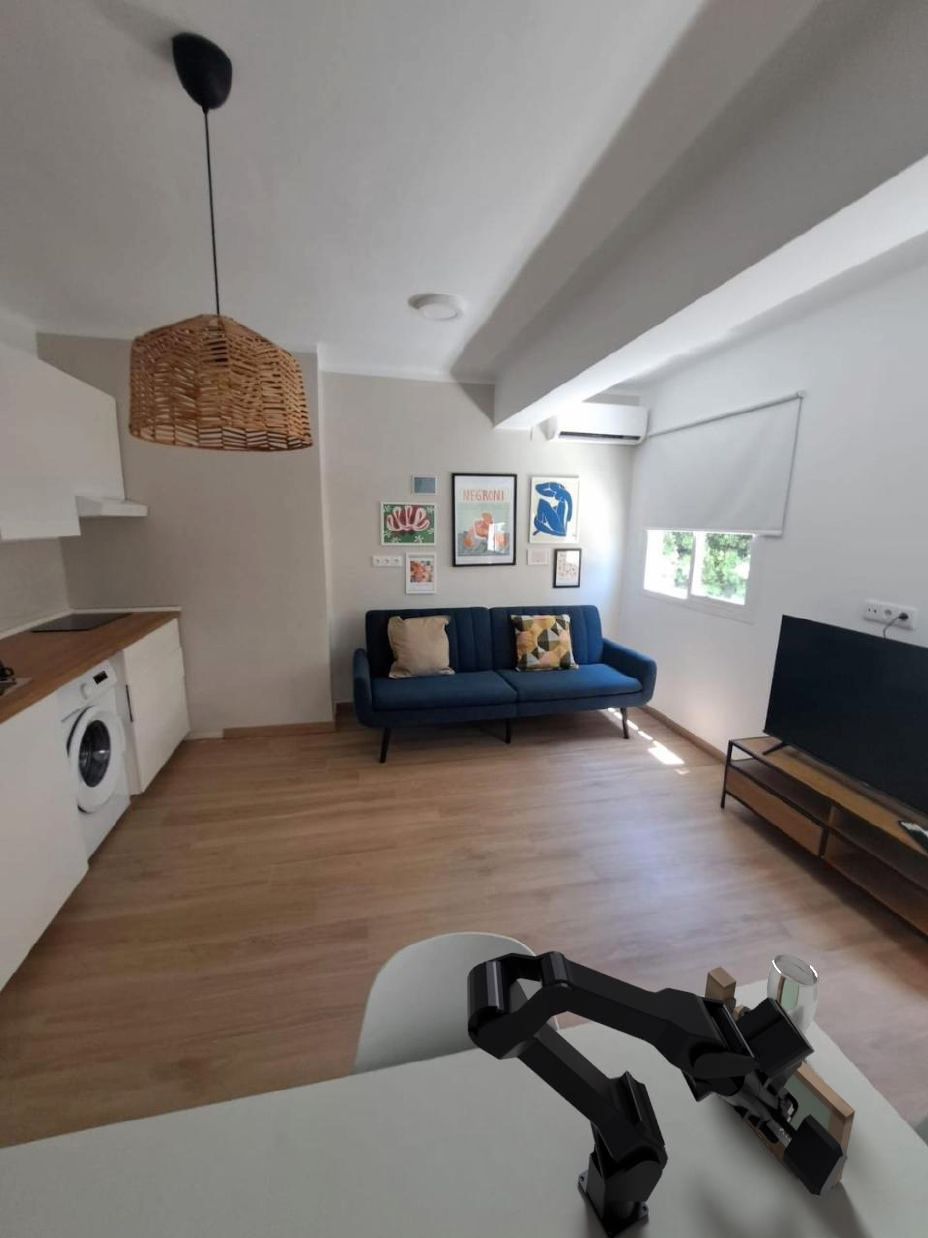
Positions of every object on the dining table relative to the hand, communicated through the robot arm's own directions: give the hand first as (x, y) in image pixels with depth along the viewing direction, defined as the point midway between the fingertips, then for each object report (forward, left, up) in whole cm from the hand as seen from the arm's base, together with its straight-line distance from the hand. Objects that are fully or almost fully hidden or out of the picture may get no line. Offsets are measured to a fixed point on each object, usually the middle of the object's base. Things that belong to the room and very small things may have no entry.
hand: (778, 1109), depth 68 cm
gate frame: (+3, +6, -7) cm, 10 cm away
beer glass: (+17, +9, -7) cm, 20 cm away
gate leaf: (+5, +2, -7) cm, 9 cm away
